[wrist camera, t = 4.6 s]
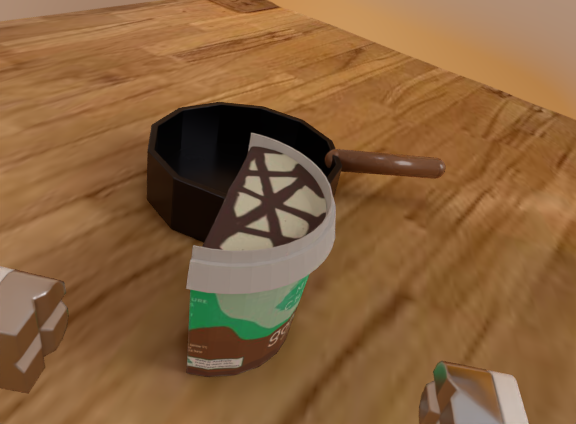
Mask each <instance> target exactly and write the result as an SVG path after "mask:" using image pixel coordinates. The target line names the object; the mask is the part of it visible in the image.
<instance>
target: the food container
mask: <svg viewBox="0 0 576 424" xmlns="http://www.w3.org/2000/svg"><path fill="white" fill-rule="evenodd" d="M335 209H336V206H335V202H334V198H333V194H332V190H331V186H330V184H329V182H328V180H327V178H326V176H325V175H324V174H323V172H322V171H321V170H320V168H319V167H318V166H317V165H316V164H314V163H313V162H312V161H311V160H310V159H309V158H307V157H306V156H305V155H303V154H302V153H300V152H299V151H297V150H295V149H293V148H292V147H290V146H288V145H286V144H283V143H281V142H279V141H277V140H274V139H271V138H268V137H265V136H262V135H259V134H255V133H251V138H250V144H249V150H248V153H247V157H246V159H245V161H244V163H243V165H242V167H241V169H240V171H239V173H238V175H237V176H236V178H235V180H234V181H233V183H232V185H231V186H230V188H229V190H228V192H227V195H226V197H225V199H224V202H223V204H222V206H221V209H220V211H219V213H218V215H217V217H216V219H215V222H214V224H213V226H212V228H211V230H210V232H209V234H208V236H207V238H206V240H205V242H204V244H203V246H202V247H200V246H195V245H193V250H192V259H191V260H190V265H189V272H188V279H187V286H186V289H190V310H189V332H188V354H187V373H189V374H195V375H201V376H207V377H210V376H226V375H236V374H239V373H242V372H245V371H248V370H251V369H254V368H256V367H259V366H260V365H262V364H263V363H264V362H266V361H267V360H268V359H270V358H271V357H272V356H274V355H275V354H276V353H277V352H278V350H279V349H280V347H281V346H282V344H283V343H284V341H285V339H286V336H287V333H288V331H289V328H290V325H291V323H292V320H293V317H294V314H295V312H296V309H297V306H298V304H299V301H300V298H301V295H302V293H303V290H304V287H305V285H306V282H307V279H308V277H309V274H310V273H311V272H313V271H314V270H316V269H317V268H318V267H319V266H320V265H321V264H322V263H323V261H324V260H325V259H326V258H327V256H328V254H329V253H330V251H331V249H332V247H333V243H334V240H335Z"/></svg>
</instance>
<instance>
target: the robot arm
mask: <svg viewBox="0 0 576 424" xmlns="http://www.w3.org/2000/svg"><path fill="white" fill-rule="evenodd" d="M65 294H66V290H65V284H64V282H63V281H61V280H57V279H53V278H49V277H45V276H41V275H36V274H32V273H28V272H24V271H20V270H16V269H15V270H14V269H10V268H6V267H2V266H0V388H1V389H6V390H12V391H17V392H23V393H28V394H29V392H30V390H31V389H32V387H33V386H34V384H35V383H36V381H37V379H38V378H39V376H40V375H41V373H42V372H43V370H44V368H45V362H44V357H45V356H46V355H48V354H50V353H52V352H54V351H55V350H56V349H57V348H58V346H59V344H60V343H61V341H62V339H63V337H64V334H65V331H66V328H67V325H68V316H69V315H68V308H67V306H66V305H65V304H64V303H63V302H62V301H61V300H62V298H63V297H64V295H65ZM433 373H434V381H432V382H430V383H428V384H426V386H425V389H424V391H423V393H422V396H421V400H420V405H419V424H529V422H528V419H527V416H526V412H525V409H524V405H523V402H522V399H521V395H520V392H519V388H518V385H517V381H516V379H515V378H514V377H513V375H508V374H504V373H499V372H494V371H489V370H488V371H487V370H486V369H481V368H476V367H471V366H466V365H461V364H456V363H451V362H446V361H440V362H439V363H438V364H437V365H436V367H435V369H434V371H433Z"/></svg>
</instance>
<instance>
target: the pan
mask: <svg viewBox="0 0 576 424" xmlns="http://www.w3.org/2000/svg"><path fill="white" fill-rule="evenodd" d="M251 133H255V134H259V135H262V136H265V137H268V138H271V139H274V140H277V141H279V142H281V143H283V144H286V145H288V146H290V147H292V148H293V149H295V150H297V151H299V152H300V153H302V154H303V155H305V156H306V157H307V158H309V159H310V160H311V161H312V162H313V163H314V164H316V165H317V166H318V167H319V168H320V170H321V171H322V172H323V174H324V175H325V176H326V178H327V180H328V182H329V184H330V186H331V190H332V194H333V198H334V195H335V191H336V187H337V184H338V180H339V176H340V173H341V171H343V172H356V173H369V174H382V175H395V176H408V177H421V178H439V177H441V176H442V175H443V174H444V172H445V164H444V162H443V161H442V160H441V159H439V158H433V157H421V156H410V155H398V154H386V153H375V152H363V151H352V150H340V149H335V147H334V144H333V142H332V140H330V139H329V138H327V137H326V136H325V135H323V134H322V133H320V132H319V131H318V130H316V129H315V128H313V127H312V126H311V125H309V124H308V123H307V122H305V121H304V120H301V119H299V118H296V117H293V116H290V115H287V114H284V113H281V112H278V111H275V110H272V109H269V108H266V107H263V106H254V105H244V104H234V103H224V102H215V103H209V104H202V105H195V106H189V107H182V108H178V109H177V110H175V111H173V112H172V113H170V114H169V115H167V116H165V117H164V118H162V119H160V120H159V121H157V122H156V123H154V124H152V126H151V133H150V139H149V145H148V160H147V200H148V201H149V203H150V204H151V205H152V206H153V207H154V209H155V210H156V211H157V212H158V213H159V215H160V216H161V217H162V218H163V219H164V221H165V222H166V223H167V224H168V225H169V227H170V228H172V229H173V230H176V231H178V232H181V233H183V234H185V235H188V236H190V237H193V238H195V239H198V240H200V241H202V242H205V240H206V238H207V236H208V234H209V232H210V230H211V228H212V226H213V224H214V222H215V219H216V217H217V215H218V213H219V211H220V209H221V206H222V204H223V202H224V199H225V197H226V195H227V192H228V190H229V188H230V186H231V185H232V183H233V181H234V180H235V178H236V176H237V175H238V173H239V171H240V169H241V167H242V165H243V163H244V161H245V159H246V157H247V153H248V150H249V144H250V138H251Z"/></svg>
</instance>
